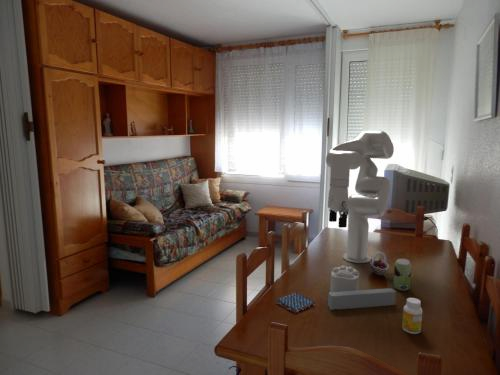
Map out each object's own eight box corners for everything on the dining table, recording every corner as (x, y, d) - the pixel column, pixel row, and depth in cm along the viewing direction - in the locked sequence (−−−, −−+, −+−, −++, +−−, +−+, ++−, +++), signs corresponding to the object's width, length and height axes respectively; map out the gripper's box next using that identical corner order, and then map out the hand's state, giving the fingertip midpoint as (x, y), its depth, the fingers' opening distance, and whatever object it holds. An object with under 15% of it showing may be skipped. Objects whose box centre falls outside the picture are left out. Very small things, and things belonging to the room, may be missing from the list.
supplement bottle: (398, 325, 117) (400, 296, 115) (415, 324, 117) (417, 296, 116) (407, 334, 112) (409, 304, 110) (424, 334, 112) (426, 304, 111)
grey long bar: (327, 305, 130) (328, 292, 129) (390, 301, 134) (391, 288, 133) (331, 309, 127) (331, 296, 126) (394, 304, 131) (395, 291, 130)
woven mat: (274, 304, 132) (274, 298, 131) (295, 296, 138) (295, 291, 138) (294, 315, 124) (294, 310, 123) (316, 306, 130) (316, 301, 130)
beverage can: (409, 286, 147) (411, 257, 145) (410, 294, 140) (413, 264, 138) (392, 284, 149) (394, 255, 147) (393, 291, 142) (395, 261, 140)
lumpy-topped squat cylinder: (328, 294, 139) (329, 272, 138) (333, 281, 151) (334, 261, 150) (356, 298, 135) (357, 276, 134) (360, 285, 147) (361, 264, 146)
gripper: (322, 180, 156) (321, 219, 158) (339, 186, 139) (337, 230, 141) (339, 180, 157) (337, 219, 159) (357, 185, 140) (355, 229, 143)
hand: (337, 224), depth 150 cm, fingers open, 9 cm apart
